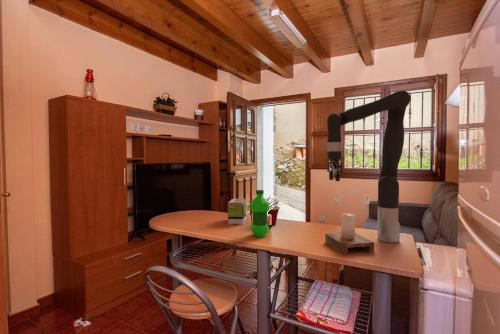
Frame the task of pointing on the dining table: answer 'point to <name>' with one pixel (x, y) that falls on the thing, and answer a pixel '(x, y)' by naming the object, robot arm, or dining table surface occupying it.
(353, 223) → the beige upright block
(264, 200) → the plastic bottle
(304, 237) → the dining table surface
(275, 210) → the plastic cup
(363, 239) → the shelf
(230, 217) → the tea box
